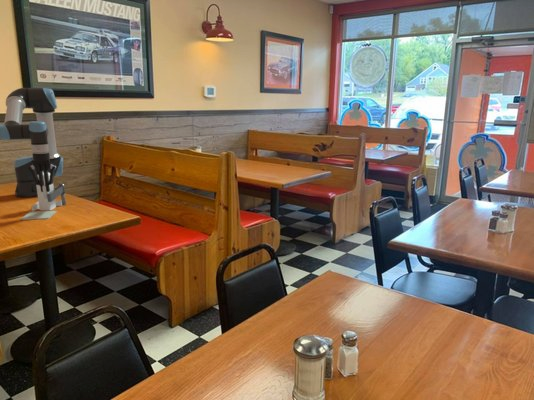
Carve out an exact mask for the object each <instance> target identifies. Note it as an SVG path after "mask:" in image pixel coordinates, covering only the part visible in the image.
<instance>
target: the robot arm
mask: <svg viewBox="0 0 534 400" xmlns="http://www.w3.org/2000/svg"><path fill="white" fill-rule="evenodd" d="M5 107H6V109H5V117H4V123H2V124H0V140H6V141H7V140H8V141H10V140H11V141H12V140H13V141H14V140H30V145H31V146H30V147H31V152H32V155H29V156H24V157H18V158H16V159H15V160H14V172H15V178H16V179H15V180H16V185H15V189H14V196H15V197H17V198H31V197H38V194H37V186H36V185H40V187H41V192H43V196H44V199H47V194H48V192H49V191H50V187H49V185H51V184H53V185H54V179H55V177H61V176H62V175H63V169H64V157H63V156H61V154H60V153H58V149H57V141H56V140H57V139H56V134H55V124H54V116H53V115H54V113H55V112H56V109H58V105H57V100H56V96H55V92H54V90H53V89H52V88H46V87H20V88H16V89H14V90H12V91H11V93H9V94H8V95H7V96H6V98H5ZM25 109H32V112H33V113H34V114H35V115H36V121H29V122H28V124H27V123H26V124H22V122H23V112H24V110H25ZM48 172H49V173H50V179H49V176H48ZM43 173H44V179H45V185H44V180H43ZM38 174H39V179H38V176H37V175H38Z"/></svg>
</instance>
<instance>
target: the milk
mask: <svg viewBox="0 0 534 400" xmlns="http://www.w3.org/2000/svg"><path fill="white" fill-rule="evenodd" d="M37 176H38V179H39V174H38V175H37ZM48 176H49V179H50V173H49V172H48ZM43 180H44V185H45V179H44V173H43ZM36 186H37V194H38V196H37V202H39V208H38V210H39V211H53V210H55V209H56V208H57V206H56V203H55V201H56V199H54V200H53V201H52V202H48V198H47V199H44V196H43V192H41V187H40V185H36ZM49 187H50V191H49V192H48V193H50V192H51V191H53V190H54V189H55V187H54V183H53V184H51V185H49Z"/></svg>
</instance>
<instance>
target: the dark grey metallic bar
mask: <svg viewBox="0 0 534 400" xmlns="http://www.w3.org/2000/svg"><path fill="white" fill-rule="evenodd" d="M65 188H66V186H65V183H59V185H58V186H57V187H56V188H55V187H54V190H53V191H51V192H50V193H48V194H47V198H48V202H52V201H53V200H54V199H55V200H56V199H57V198H59V196H61V194H62V193H65V194H66V189H65Z"/></svg>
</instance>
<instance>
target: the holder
mask: <svg viewBox="0 0 534 400" xmlns="http://www.w3.org/2000/svg"><path fill="white" fill-rule="evenodd" d="M60 198H61V199H60V200H55V203H56V207H63V206H66V205H67V201H66V192H65V193H62V194H61V195H60ZM30 207H31V212H32V211H37V210H39V202H38V201H37V202H35V203H34V204H32V205H31V206H30Z"/></svg>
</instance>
